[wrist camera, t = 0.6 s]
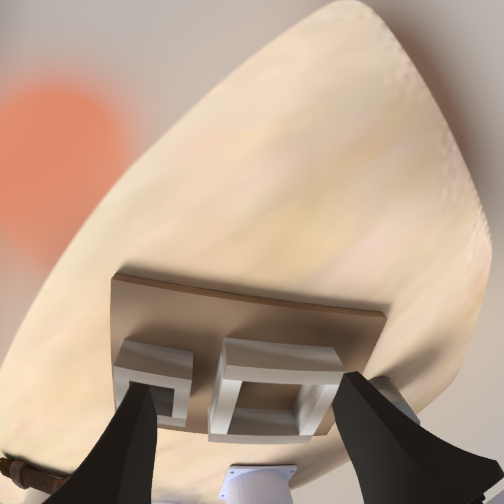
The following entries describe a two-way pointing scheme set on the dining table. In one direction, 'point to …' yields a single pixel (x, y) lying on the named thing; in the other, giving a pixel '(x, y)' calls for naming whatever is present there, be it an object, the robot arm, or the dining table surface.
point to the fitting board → (235, 359)
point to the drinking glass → (34, 496)
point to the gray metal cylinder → (393, 396)
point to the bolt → (29, 476)
